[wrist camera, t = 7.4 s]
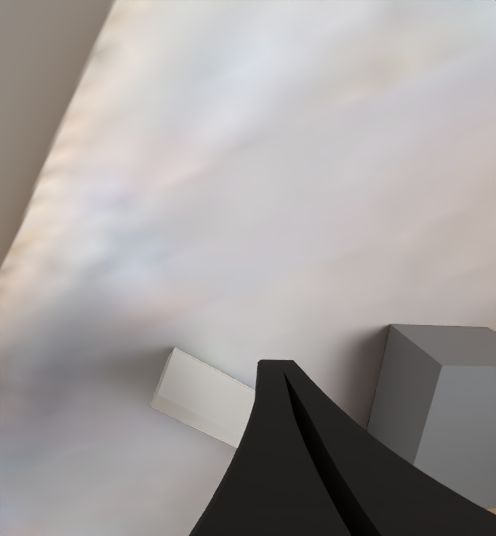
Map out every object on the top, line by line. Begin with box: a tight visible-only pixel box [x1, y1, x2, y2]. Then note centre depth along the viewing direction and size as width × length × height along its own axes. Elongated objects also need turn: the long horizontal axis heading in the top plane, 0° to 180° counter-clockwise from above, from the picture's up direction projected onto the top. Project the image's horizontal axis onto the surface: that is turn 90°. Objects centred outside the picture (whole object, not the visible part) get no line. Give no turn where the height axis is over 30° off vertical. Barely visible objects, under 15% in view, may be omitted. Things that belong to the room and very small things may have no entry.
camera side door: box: [149, 347, 255, 448], centre depth 17 cm, size 1×16×4 cm, turn 56°
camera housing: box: [367, 324, 496, 508], centre depth 17 cm, size 7×11×4 cm, turn 176°
